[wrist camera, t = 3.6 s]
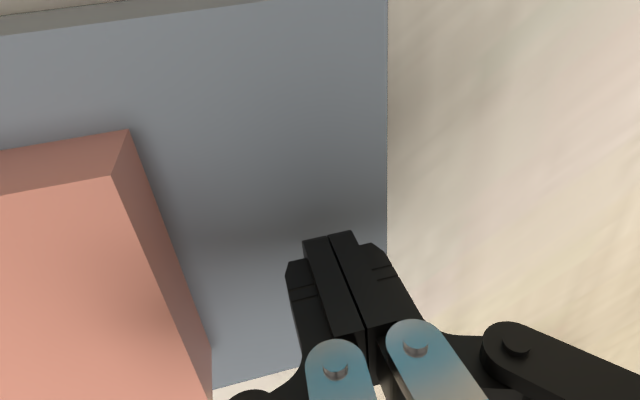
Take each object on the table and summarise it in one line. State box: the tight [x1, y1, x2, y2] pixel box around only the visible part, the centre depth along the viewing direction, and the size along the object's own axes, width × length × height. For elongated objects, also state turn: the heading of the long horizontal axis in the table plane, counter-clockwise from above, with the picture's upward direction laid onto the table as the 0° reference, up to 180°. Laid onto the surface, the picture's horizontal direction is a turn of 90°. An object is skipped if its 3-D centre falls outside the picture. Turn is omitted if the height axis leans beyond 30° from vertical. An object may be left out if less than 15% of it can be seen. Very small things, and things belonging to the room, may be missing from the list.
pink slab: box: [0, 129, 213, 400], centre depth 11 cm, size 9×6×2 cm, turn 5°
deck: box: [0, 0, 388, 390], centre depth 14 cm, size 14×16×4 cm
